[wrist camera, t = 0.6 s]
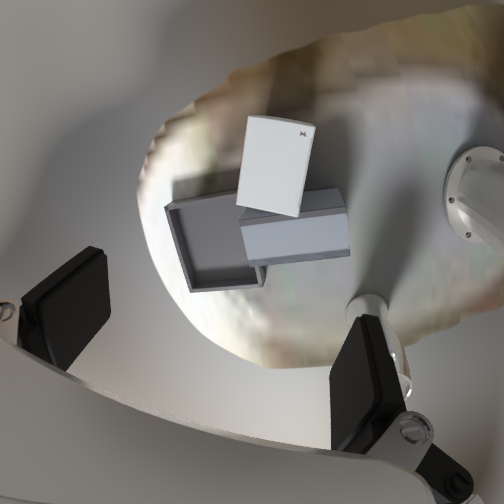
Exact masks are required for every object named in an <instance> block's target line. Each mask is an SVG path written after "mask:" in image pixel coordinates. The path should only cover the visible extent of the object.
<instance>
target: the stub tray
mask: <svg viewBox="0 0 504 504" xmlns="http://www.w3.org/2000/svg"><path fill="white" fill-rule="evenodd" d="M236 197H237V189H236V190H230V191H224V192H219V193H213V194H208V195H203V196H197V197H192V198H187V199H182V200H177V201H172V202H171V203H169V204H168V205H166V206H165V207H164V209H165V212H166V216H167V219H168V223H169V226H170V230H171V233H172V237H173V240H174V243H175V247H176V250H177V253H178V256H179V260H180V263H181V266H182V269H183V272H184V276H185V279H186V282H187V285H188V288H189V291H190V293H194V292H208V291H221V290H234V289H246V288H258V287H263V286H264V282H265V279H266V275H265V270H264V266H256V267H250V266H249V262H248V257H247V253H246V249H245V244H244V240H243V235H242V231H241V227H240V226H239V222H238V221H239V219H240V218H241V216H242V215H243V214H244V212H245V211H246V209H247V208H248V207H245V206H240V205H236Z"/></svg>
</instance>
